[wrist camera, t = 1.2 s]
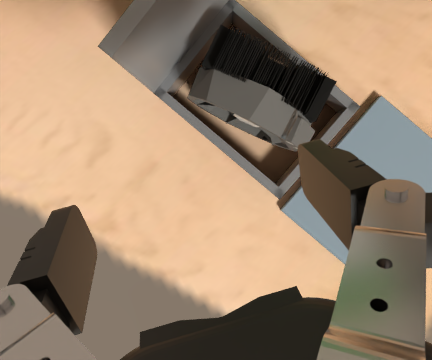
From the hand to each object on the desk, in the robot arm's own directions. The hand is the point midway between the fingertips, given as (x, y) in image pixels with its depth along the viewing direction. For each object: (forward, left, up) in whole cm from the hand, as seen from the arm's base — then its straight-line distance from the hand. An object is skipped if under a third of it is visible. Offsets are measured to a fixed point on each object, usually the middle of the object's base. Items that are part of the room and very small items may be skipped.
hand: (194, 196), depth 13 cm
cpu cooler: (-7, -2, -22) cm, 23 cm away
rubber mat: (-8, +12, -22) cm, 26 cm away
